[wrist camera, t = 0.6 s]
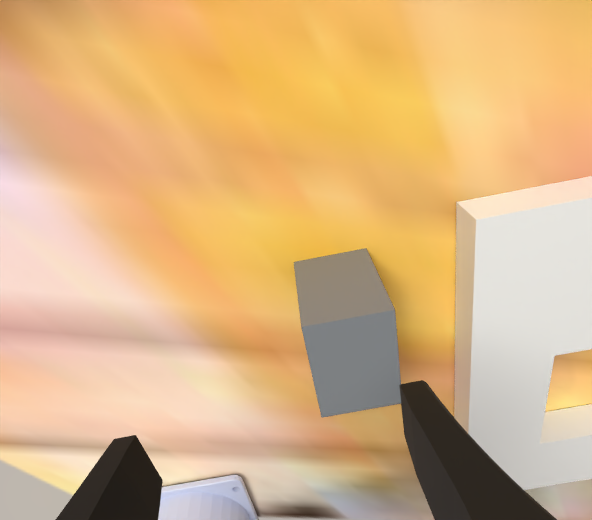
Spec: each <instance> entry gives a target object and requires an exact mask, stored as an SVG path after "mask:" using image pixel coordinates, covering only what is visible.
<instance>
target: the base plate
mask: <svg viewBox="0 0 592 520" xmlns="http://www.w3.org/2000/svg"><path fill="white" fill-rule="evenodd" d="M589 349H592V176H589V177H584V178H579V179H573V180H568V181H563V182H558V183H553V184H547V185H542V186H537V187H532V188H527V189H522V190H516V191H511V192H506V193H501V194H496V195H491V196H485V197H480V198H475V199H470V200H465V201H460V202H456V292H455V388H454V418H455V419H456V420H457V422H458V423H459V424H460V425H461V426H462V427H463V428H464V430H465V431H466V432H467V433H468V434H469V435H470V436H471V437H472V438H473V439H474V440H475V442H476V443H477V444H478V445H479V446H480V447H481V448H482V449H483V450H484V451H485V452H486V453H487V454H488V455H489V456H490V457H491V458H492V459H493V460H494V461H495V463H496V464H497V465H498V466H499V467H500V468H501V469H502V470H503V471H505V472H506V473H507V474H508V475H509V476H510V477H511V478H512V479H513V480H514V481H515V482H516V483H517V484H518V485H519V486H520V487H521V488H522V489H523V490H527V489H533V488H539V487H545V486H551V485H557V484H563V483H569V482H575V481H581V480H587V479H592V404H589V405H583V406H577V407H571V408H566V409H560V410H554V411H548V412H545V409H546V403H547V397H548V391H549V385H550V379H551V374H552V368H553V362H554V356H555V355H561V354H567V353H572V352H578V351H583V350H589Z"/></svg>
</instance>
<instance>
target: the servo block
mask: <svg viewBox="0 0 592 520" xmlns="http://www.w3.org/2000/svg"><path fill="white" fill-rule="evenodd" d="M294 269H295V277H296V286H297V294H298V303H299V311H300V319H301V327H302V332H303V336H304V341H305V345H306V350H307V354H308V359H309V363H310V368H311V372H312V377H313V381H314V386H315V390H316V394H317V399H318V403H319V408H320V412H321V417H328V416H333V415H339V414H344V413H350V412H356V411H361V410H367V409H373V408H378V407H384V406H389V405H395V404H401V396H400V386H399V385H400V384H401V380H400V367H399V354H398V342H397V329H396V317H395V309H394V307H393V304H392V302H391V300H390V298H389V296H388V294H387V292H386V289H385V287H384V285H383V283H382V281H381V279H380V277H379V274H378V272H377V270H376V268H375V266H374V264H373V262H372V259H371V257H370V255H369V253H368V251H367V249H366V248H365V249H360V250H355V251H350V252H344V253H339V254H334V255H329V256H323V257H318V258H313V259H308V260H302V261H297V262H294Z"/></svg>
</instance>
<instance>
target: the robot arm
mask: <svg viewBox="0 0 592 520" xmlns="http://www.w3.org/2000/svg"><path fill="white" fill-rule="evenodd" d="M399 386H400V396H401V405H402V415H403V424H404V434H405V438H406V442H407V445H408V448H409V452H410V455H411V458H412V461H413V465H414V468H415V471H416V474H417V477H418V479H419V482H420V484H421V487H422V489H423V492H424V494H425V497H426V499H427V502H428V504H429V506H430V509H431V511H432V514H433V516H434V519H435V520H557V519H555V518H554V517H553V516H552V515H551V514H550V513H549V512H547V511H546V510H545V509H544V508H543V507H542V506H541V505H540V504H538V503H537V502H536V501H535V500H534V499H533V498H532V497H531V496H530V495H529V494H527V493H526V492H525V491H524V490H523V489H522V488H521V487H520V486H519V485H518V484H517V483H516V482H515V481H514V480H513V479H512V478H511V477H510V476H509V475H508V474H507V473H506V472H505V471H503V470H502V469H501V468H500V467H499V466H498V465H497V464H496V463H495V461H494V460H493V459H492V458H491V457H490V456H489V455H488V454H487V453H486V452H485V451H484V450H483V449H482V448H481V447H480V446H479V445H478V444H477V443H476V442H475V440H474V439H473V438H472V437H471V436H470V435H469V434H468V433H467V432H466V431H465V430H464V428H463V427H462V426H461V425H460V424H459V423H458V422H457V420H456V419H455V418H454V417H453V416H452V415H451V413H450V412H449V411H448V410H447V409H446V407H445V406H444V405H443V404H442V402H441V401H440V400H439V399H438V397H437V396H436V395H435V393H434V392H433V391H432V390H431V388H430V387H429V385H428V384H427V383H426V382H424V381H423V380H421V381H416V382H411V383H406V384H400V385H399ZM56 520H259V519H258V516H257V514H256V511H255V509H254V507H253V504H252V502H251V499H250V497H249V494H248V492H247V489H246V487H245V485H244V482H243V480H242V478H241V477H240V476H239V475H229V476H224V477H218V478H212V479H206V480H201V481H195V482H189V483H183V484H177V485H172V486H166V487H162V479H161V477H160V475H159V474H158V472H157V470H156V469H155V467H154V465H153V464H152V462H151V460H150V458H149V457H148V455H147V453H146V452H145V450H144V448H143V447H142V445H141V443H140V442H139V440H138V438H137V437H136V435H133V436H128V437H123V438H118V439H114V440H113V441H112V443H111V444H110V445H109V447H108V448H107V449H106V451H105V452H104V454H103V455H102V456H101V458H100V459H99V461H98V462H97V463H96V465H95V466H94V468H93V469H92V470H91V472H90V473H89V475H88V476H87V477H86V479H85V480H84V482H83V483H82V484H81V486H80V487H79V488H78V490H77V491H76V493H75V494H74V495H73V497H72V498H71V499H70V501H69V502H68V504H67V505H66V506H65V508H64V509H63V511H62V512H61V513H60V515H59V516H58V517H57V519H56Z"/></svg>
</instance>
